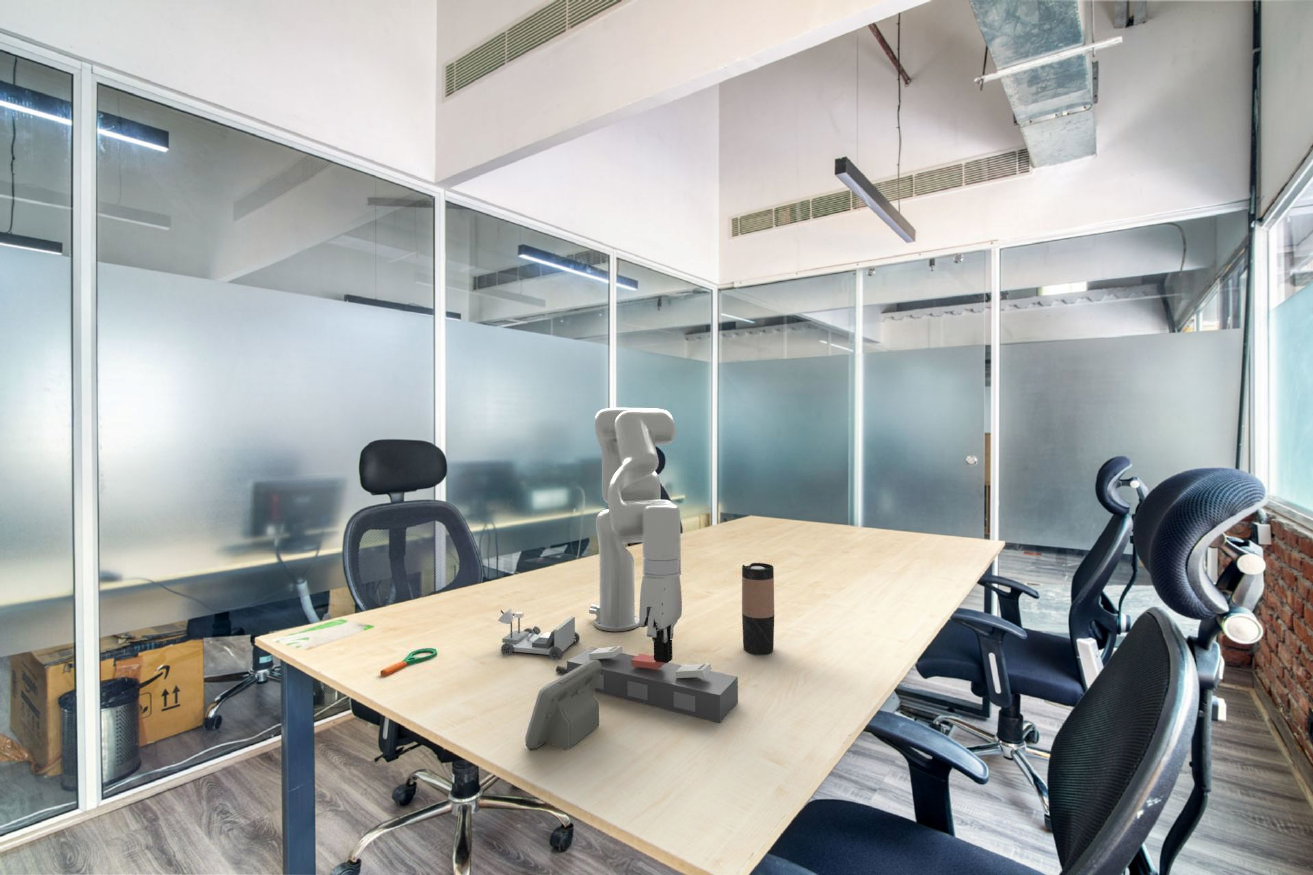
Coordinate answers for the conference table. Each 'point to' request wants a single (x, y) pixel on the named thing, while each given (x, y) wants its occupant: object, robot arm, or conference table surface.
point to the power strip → (663, 686)
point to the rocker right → (693, 670)
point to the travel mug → (758, 608)
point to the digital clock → (566, 709)
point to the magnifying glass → (410, 660)
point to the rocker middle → (646, 662)
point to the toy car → (538, 637)
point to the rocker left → (605, 652)
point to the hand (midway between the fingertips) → (663, 660)
